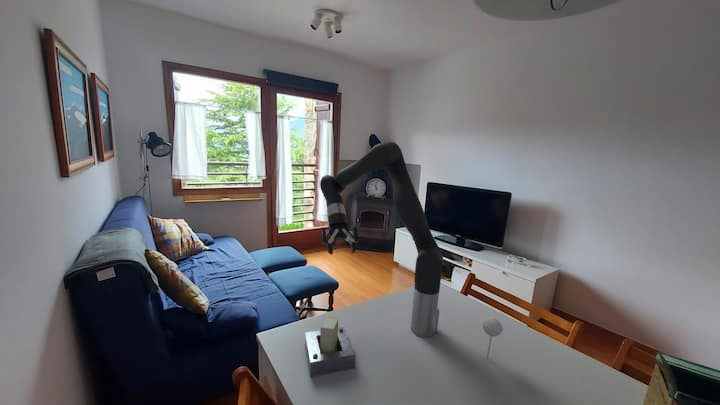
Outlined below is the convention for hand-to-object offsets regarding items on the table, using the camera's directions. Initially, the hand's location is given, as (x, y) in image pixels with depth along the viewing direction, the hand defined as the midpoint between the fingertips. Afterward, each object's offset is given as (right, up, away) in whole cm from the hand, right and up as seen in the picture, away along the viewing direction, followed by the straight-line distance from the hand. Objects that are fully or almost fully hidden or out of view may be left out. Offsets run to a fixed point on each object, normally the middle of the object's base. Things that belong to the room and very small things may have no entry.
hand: (342, 253), depth 105 cm
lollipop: (+50, -34, -11) cm, 61 cm away
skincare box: (-4, -32, -13) cm, 35 cm away
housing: (-4, -32, -13) cm, 35 cm away
